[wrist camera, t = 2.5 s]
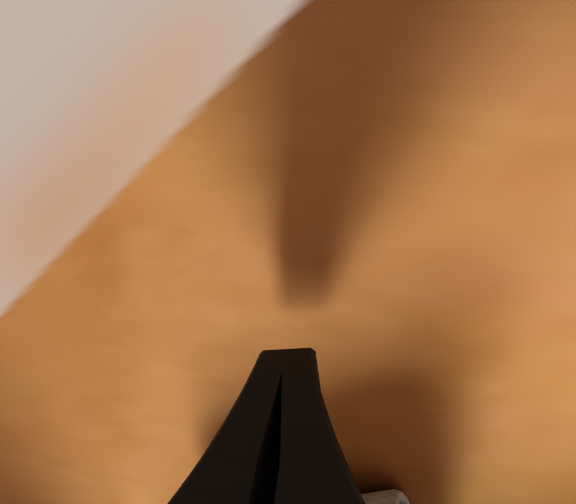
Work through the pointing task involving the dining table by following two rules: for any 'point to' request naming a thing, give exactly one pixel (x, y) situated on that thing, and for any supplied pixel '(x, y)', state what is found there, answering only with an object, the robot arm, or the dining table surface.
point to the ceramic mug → (385, 497)
